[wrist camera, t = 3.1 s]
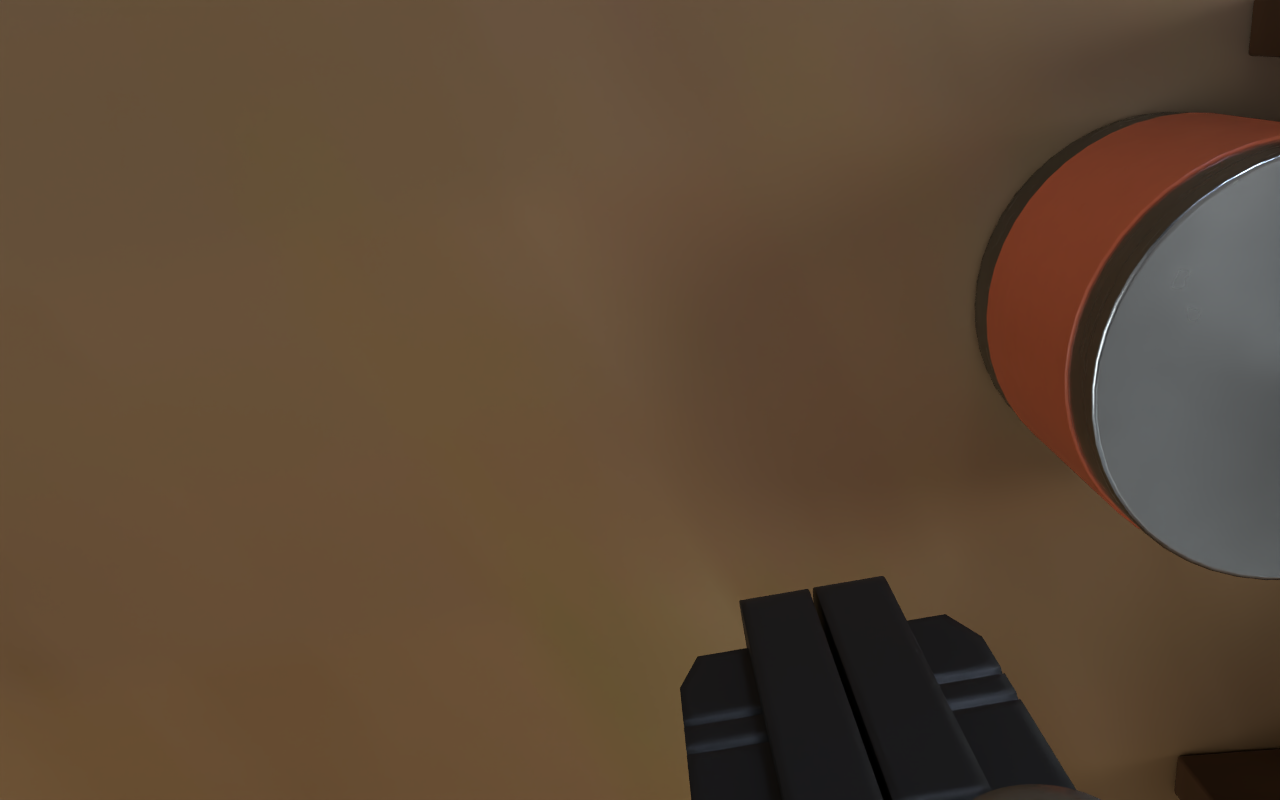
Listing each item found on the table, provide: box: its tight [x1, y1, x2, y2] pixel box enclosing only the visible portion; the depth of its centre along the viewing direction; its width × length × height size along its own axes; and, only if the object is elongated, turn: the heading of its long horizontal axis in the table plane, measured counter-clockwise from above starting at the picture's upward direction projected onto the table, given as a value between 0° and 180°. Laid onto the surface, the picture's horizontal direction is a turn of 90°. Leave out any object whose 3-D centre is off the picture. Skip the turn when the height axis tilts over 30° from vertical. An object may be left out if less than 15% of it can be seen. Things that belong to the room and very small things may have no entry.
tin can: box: [975, 112, 1280, 580], centre depth 19 cm, size 7×7×6 cm
